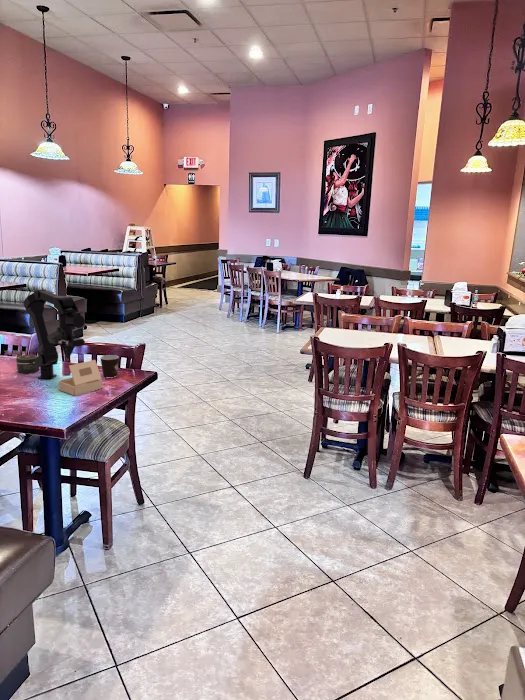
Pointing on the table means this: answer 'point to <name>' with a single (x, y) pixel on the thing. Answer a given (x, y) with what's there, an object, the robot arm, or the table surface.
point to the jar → (26, 364)
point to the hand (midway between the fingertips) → (67, 358)
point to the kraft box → (79, 386)
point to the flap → (85, 372)
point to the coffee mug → (109, 365)
